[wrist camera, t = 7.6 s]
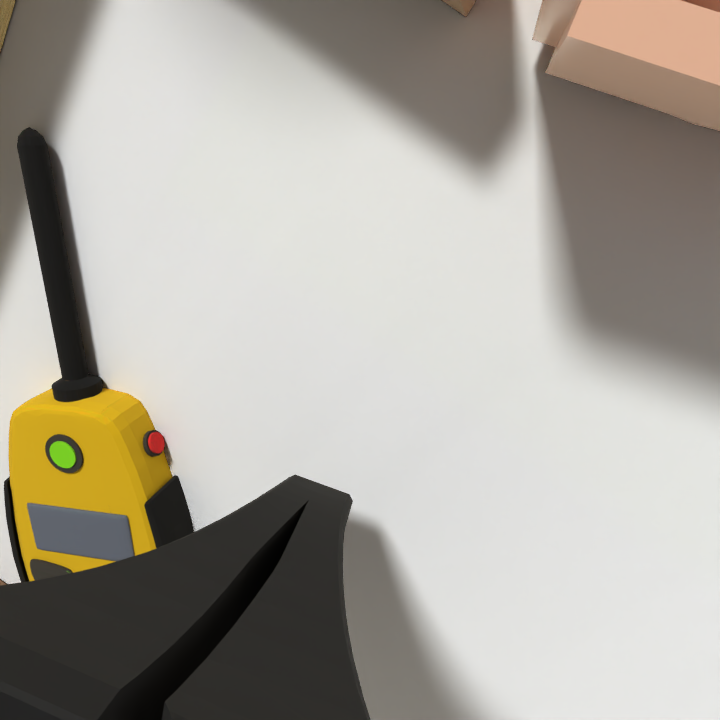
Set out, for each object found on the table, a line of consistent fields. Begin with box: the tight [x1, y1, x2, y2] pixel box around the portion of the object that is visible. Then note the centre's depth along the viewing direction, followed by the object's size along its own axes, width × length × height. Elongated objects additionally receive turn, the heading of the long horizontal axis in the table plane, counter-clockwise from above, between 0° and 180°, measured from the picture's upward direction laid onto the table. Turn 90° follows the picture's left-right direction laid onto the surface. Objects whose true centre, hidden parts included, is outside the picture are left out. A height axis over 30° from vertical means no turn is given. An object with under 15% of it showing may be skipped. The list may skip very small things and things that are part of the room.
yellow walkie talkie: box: [4, 128, 194, 583], centre depth 15 cm, size 5×2×15 cm
